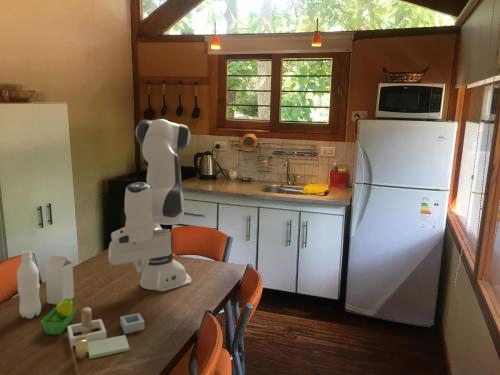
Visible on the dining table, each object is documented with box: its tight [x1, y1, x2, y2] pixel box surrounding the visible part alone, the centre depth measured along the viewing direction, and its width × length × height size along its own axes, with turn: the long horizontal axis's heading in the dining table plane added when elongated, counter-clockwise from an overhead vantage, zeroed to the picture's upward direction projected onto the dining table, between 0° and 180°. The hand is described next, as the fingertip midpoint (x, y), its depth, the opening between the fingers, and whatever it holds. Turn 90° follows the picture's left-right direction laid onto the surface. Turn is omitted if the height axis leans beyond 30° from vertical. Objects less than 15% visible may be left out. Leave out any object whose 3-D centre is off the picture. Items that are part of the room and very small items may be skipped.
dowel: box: [80, 306, 93, 335], centre depth 141 cm, size 3×3×10 cm
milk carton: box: [44, 254, 75, 306], centre depth 166 cm, size 7×7×19 cm
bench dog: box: [75, 337, 89, 359], centre depth 131 cm, size 4×4×6 cm
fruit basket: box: [40, 298, 77, 335], centre depth 147 cm, size 11×9×11 cm
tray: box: [67, 318, 107, 350], centre depth 142 cm, size 11×9×4 cm
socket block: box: [119, 312, 146, 335], centre depth 149 cm, size 7×7×4 cm
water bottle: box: [16, 249, 42, 320], centre depth 154 cm, size 7×7×25 cm
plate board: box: [88, 334, 130, 359], centre depth 136 cm, size 12×8×2 cm, turn 115°
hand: (141, 271), depth 141 cm, fingers closed
